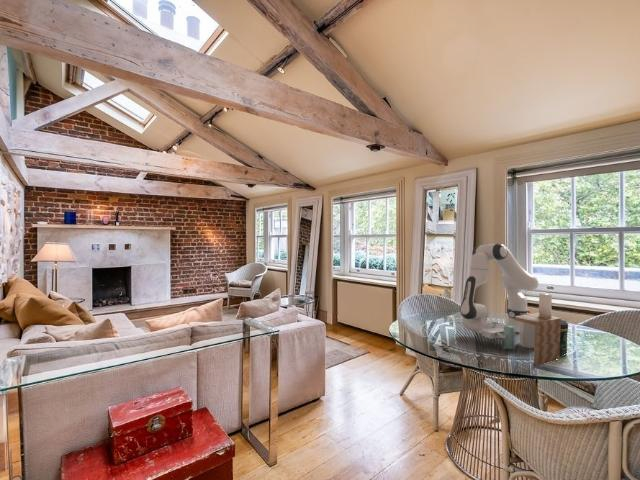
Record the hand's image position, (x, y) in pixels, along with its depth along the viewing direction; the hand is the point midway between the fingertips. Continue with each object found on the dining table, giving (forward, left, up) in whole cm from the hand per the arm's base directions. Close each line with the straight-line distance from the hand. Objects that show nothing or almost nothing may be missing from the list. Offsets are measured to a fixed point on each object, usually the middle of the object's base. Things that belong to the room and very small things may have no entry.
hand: (510, 336), depth 178 cm
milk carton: (-17, 0, -8) cm, 19 cm away
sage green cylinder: (0, -1, -7) cm, 7 cm away
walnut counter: (-2, +13, -8) cm, 15 cm away
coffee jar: (-20, +14, -8) cm, 26 cm away
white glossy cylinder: (-7, +14, +14) cm, 21 cm away
